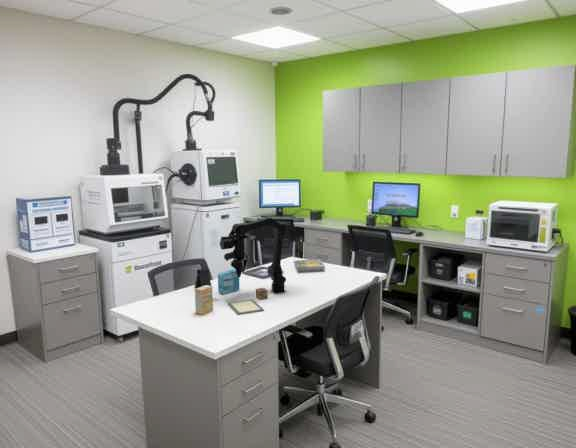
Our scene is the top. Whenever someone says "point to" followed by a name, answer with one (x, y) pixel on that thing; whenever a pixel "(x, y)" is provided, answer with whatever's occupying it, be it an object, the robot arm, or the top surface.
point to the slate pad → (245, 307)
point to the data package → (228, 281)
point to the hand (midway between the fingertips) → (241, 274)
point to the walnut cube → (261, 293)
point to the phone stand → (202, 278)
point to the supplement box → (203, 299)
